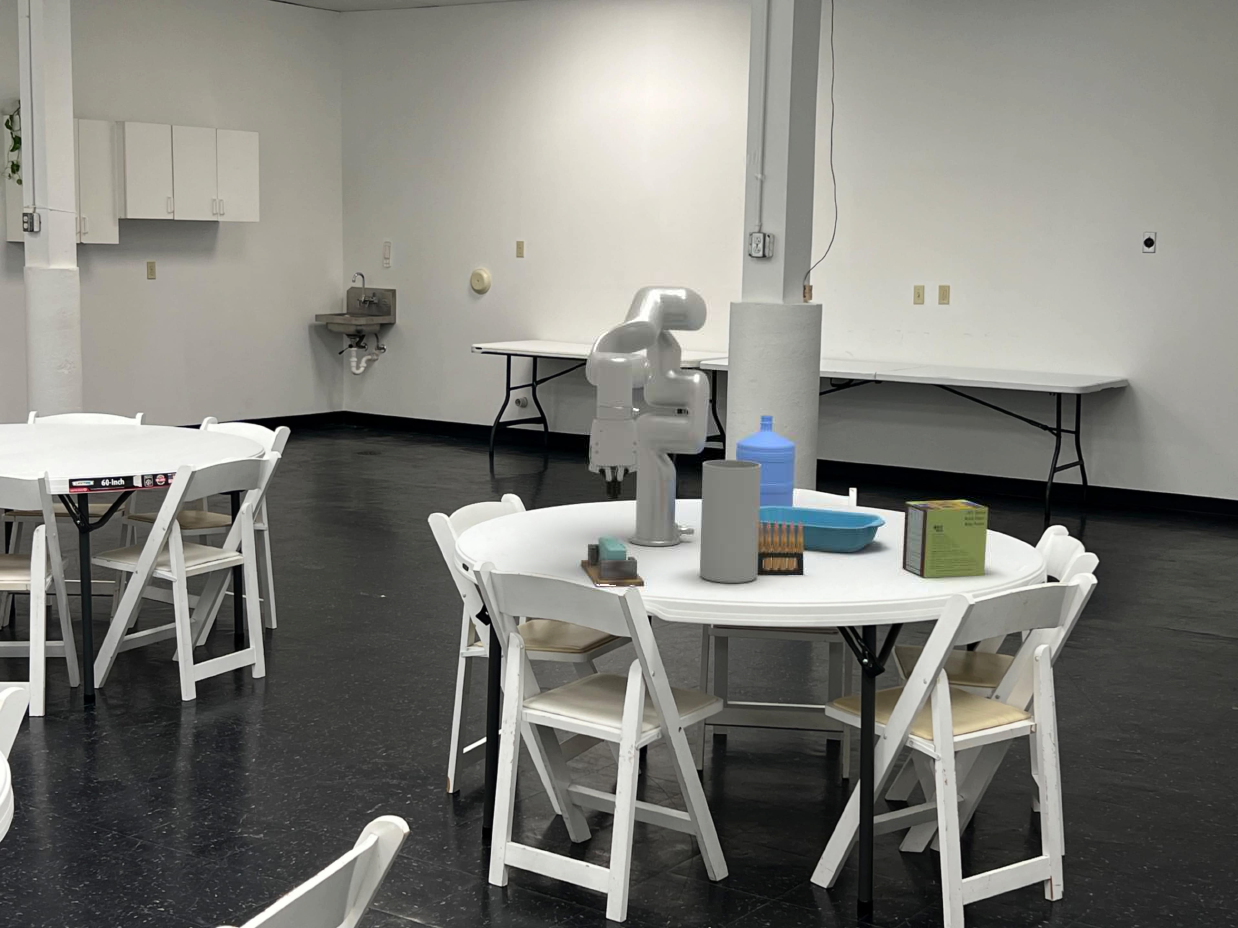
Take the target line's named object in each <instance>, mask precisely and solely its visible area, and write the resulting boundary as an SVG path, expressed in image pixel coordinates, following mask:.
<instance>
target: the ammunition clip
mask: <svg viewBox="0 0 1238 928" xmlns="http://www.w3.org/2000/svg"><path fill="white" fill-rule="evenodd" d="M779 545H780V546H779ZM804 571H805V570H804V549H803V526H802V522H801V521H800V523H799V525H798V532H797V539H796V548H795V526H794V522H793V521H792V522H791V525H790V532H789V539H788V547H787V527H786V522H785V521H784V522H783V525H782V531H781V539H780V540H779V526H778V522H777V521H776V523H775V526H774V534H773V540H772V539H771V525H770V522H769V521H768V523H767V526H766V534H765V541H764V538H763V524H762V521H760V523H759V543H758V573H757V576H788V575H803V576H804V575H805V574H804V573H805V572H804Z"/></svg>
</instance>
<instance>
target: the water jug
mask: <svg viewBox="0 0 1238 928" xmlns="http://www.w3.org/2000/svg"><path fill="white" fill-rule="evenodd" d="M760 418H761V419H760V430H759V431H757V432H755V433H753V434H751V435H749V436H747V437H745V438H742V439H740V440H738V441H737V442H736V449H735V458H736V459H735V460H741V461H750V462H756V463H759V464H761V483H760V507H762V506H787V507H794V506H793V505H794V491H795V490H794V489H795V479H794V478H795V477H794V476H795V459H796V450H795V449H796V445H795V443H794V442H793V441H791V440H789V439H787V438H785V437H783V436H781V435H779V434H777V433H776V432H774V431H773V424H774V423H773V418H774V416H773V415H767V414H766V415H760Z"/></svg>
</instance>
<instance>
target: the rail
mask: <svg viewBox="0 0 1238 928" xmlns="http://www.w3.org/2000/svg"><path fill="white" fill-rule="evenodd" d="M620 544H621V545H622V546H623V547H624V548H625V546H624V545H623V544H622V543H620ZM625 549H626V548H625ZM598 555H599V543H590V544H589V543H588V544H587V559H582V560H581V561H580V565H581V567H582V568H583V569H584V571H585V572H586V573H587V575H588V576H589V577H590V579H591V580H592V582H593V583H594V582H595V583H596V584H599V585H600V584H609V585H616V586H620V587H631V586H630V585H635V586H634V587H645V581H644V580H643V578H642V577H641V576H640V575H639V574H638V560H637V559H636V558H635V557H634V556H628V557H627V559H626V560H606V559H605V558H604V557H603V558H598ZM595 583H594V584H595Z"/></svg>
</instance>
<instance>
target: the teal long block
mask: <svg viewBox="0 0 1238 928" xmlns="http://www.w3.org/2000/svg"><path fill="white" fill-rule="evenodd" d="M598 544H599V555H598V558H603V557H604V558H605V559H606V560H627V549H626V548H624V547H625V546H624V545H623V544H622V543H621V542H620V541H619V540H618V539H617V538H616V537H613V536H612V537H611V536H610V537H598ZM621 544H622V545H623V546H624V547H623V546H622V545H621Z"/></svg>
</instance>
